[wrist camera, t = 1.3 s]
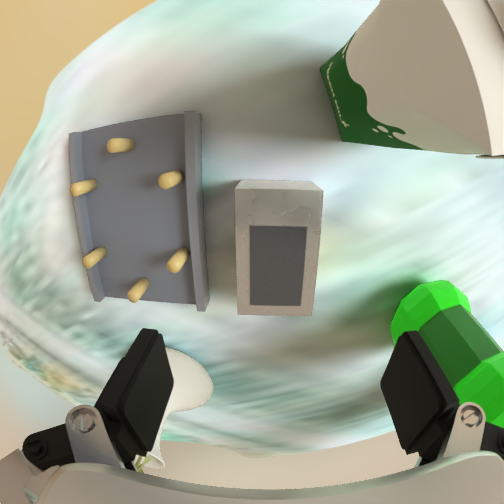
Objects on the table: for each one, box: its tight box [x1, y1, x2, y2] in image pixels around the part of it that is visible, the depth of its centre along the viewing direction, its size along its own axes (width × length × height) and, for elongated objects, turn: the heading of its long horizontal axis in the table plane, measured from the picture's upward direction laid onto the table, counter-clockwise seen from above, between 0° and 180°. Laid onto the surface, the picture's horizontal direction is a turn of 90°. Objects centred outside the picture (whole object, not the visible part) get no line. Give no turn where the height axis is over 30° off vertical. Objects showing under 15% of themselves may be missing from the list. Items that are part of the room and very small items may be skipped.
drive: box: [235, 180, 323, 316], centre depth 22 cm, size 10×6×6 cm, turn 0°
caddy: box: [69, 111, 209, 311], centre depth 23 cm, size 18×13×4 cm
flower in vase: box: [134, 347, 214, 473], centre depth 20 cm, size 13×11×25 cm
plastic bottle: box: [391, 280, 504, 428], centre depth 15 cm, size 10×10×25 cm
